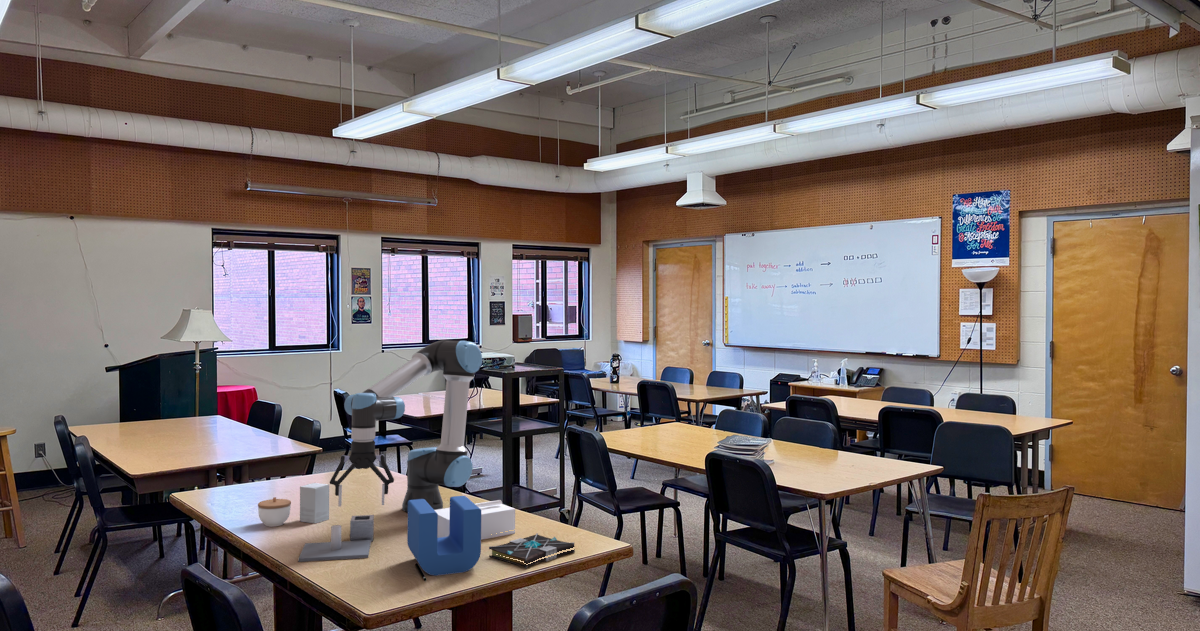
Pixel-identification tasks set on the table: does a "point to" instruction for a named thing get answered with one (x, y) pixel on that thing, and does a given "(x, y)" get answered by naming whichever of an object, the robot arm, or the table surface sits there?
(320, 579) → the table surface
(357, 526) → the block
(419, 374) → the robot arm
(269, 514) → the lidded jar
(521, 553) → the book
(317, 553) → the plate
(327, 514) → the supplement box
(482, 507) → the tissue box
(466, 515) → the block
